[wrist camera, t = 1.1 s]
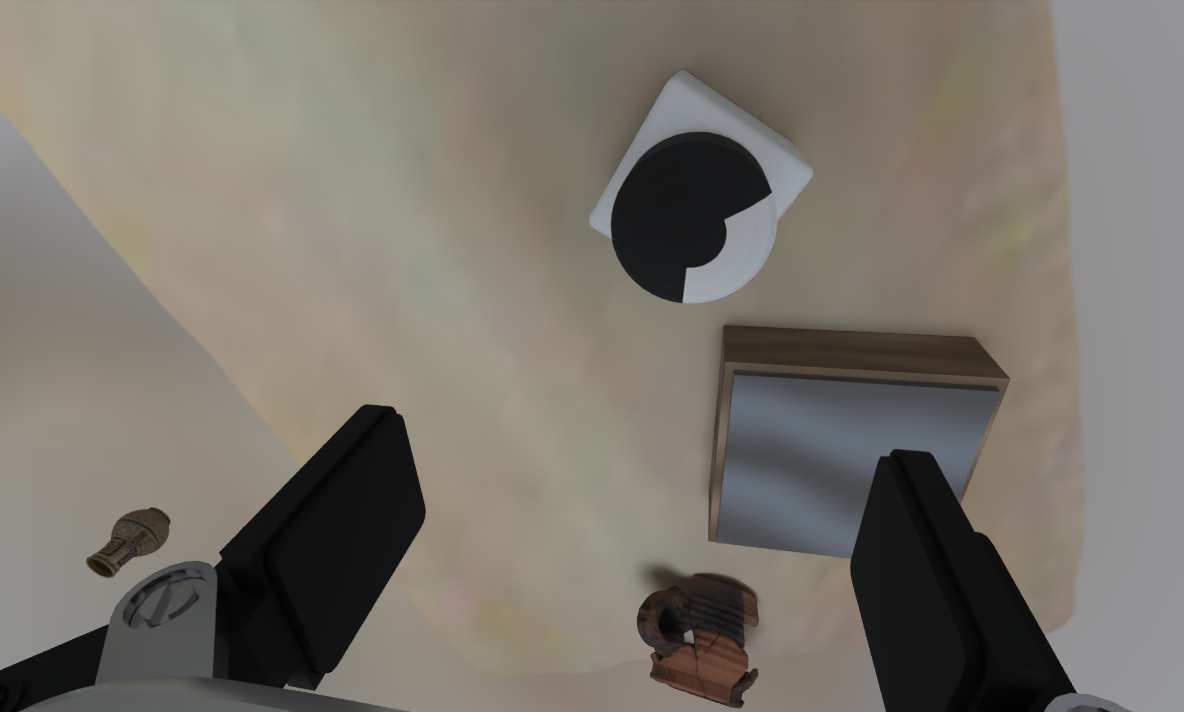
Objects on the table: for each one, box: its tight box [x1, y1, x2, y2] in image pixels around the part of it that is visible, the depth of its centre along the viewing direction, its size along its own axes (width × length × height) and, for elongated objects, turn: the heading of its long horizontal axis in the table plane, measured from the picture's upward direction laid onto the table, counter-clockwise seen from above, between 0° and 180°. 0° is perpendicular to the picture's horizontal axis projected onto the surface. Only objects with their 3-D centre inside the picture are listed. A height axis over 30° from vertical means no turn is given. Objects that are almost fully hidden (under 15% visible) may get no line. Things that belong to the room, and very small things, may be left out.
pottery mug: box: [637, 576, 759, 708], centre depth 45 cm, size 12×9×8 cm
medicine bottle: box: [589, 70, 813, 304], centre depth 25 cm, size 7×7×12 cm
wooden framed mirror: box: [708, 326, 1010, 558], centre depth 34 cm, size 14×14×5 cm
